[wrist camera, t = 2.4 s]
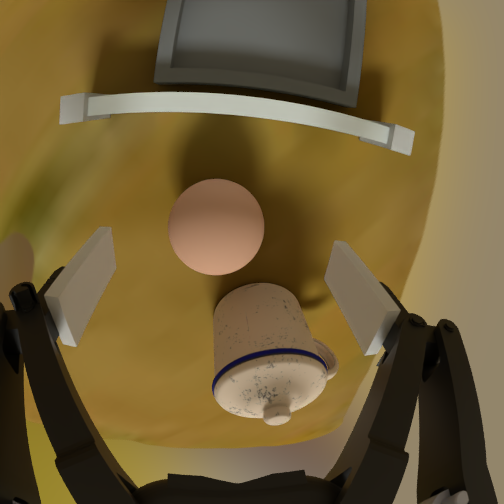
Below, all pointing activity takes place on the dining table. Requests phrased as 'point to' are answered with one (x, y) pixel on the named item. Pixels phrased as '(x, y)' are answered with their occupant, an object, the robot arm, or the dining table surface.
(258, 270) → the dining table surface
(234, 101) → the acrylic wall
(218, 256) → the ball
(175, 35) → the tray
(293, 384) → the teacup with lid
